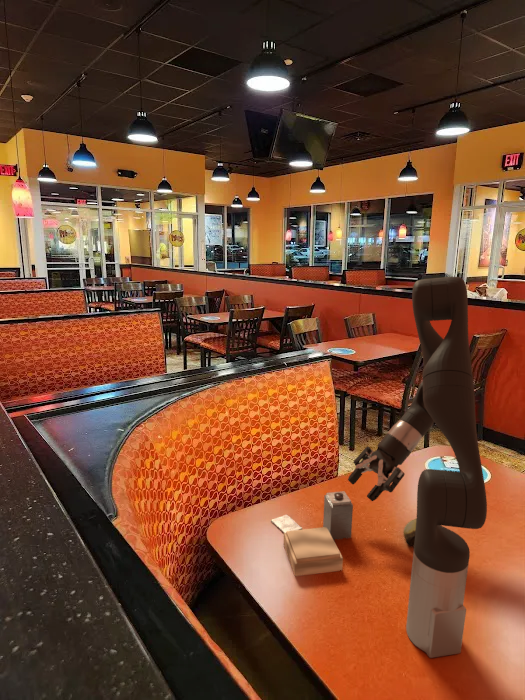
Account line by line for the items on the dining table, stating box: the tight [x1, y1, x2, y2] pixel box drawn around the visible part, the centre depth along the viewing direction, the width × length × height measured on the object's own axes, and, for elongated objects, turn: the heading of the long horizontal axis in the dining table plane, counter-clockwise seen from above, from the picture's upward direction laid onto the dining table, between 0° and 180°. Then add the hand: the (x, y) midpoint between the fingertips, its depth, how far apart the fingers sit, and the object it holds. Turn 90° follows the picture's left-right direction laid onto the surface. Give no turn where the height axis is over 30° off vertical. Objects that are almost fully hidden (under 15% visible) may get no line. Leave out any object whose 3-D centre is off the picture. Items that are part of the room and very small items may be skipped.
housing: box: [322, 490, 354, 541], centre depth 115 cm, size 6×6×11 cm
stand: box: [283, 526, 344, 577], centre depth 106 cm, size 11×11×4 cm
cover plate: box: [270, 514, 303, 534], centre depth 119 cm, size 7×5×1 cm
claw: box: [402, 518, 416, 548], centre depth 117 cm, size 20×10×3 cm, turn 137°
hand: (359, 490), depth 116 cm, fingers open, 8 cm apart
